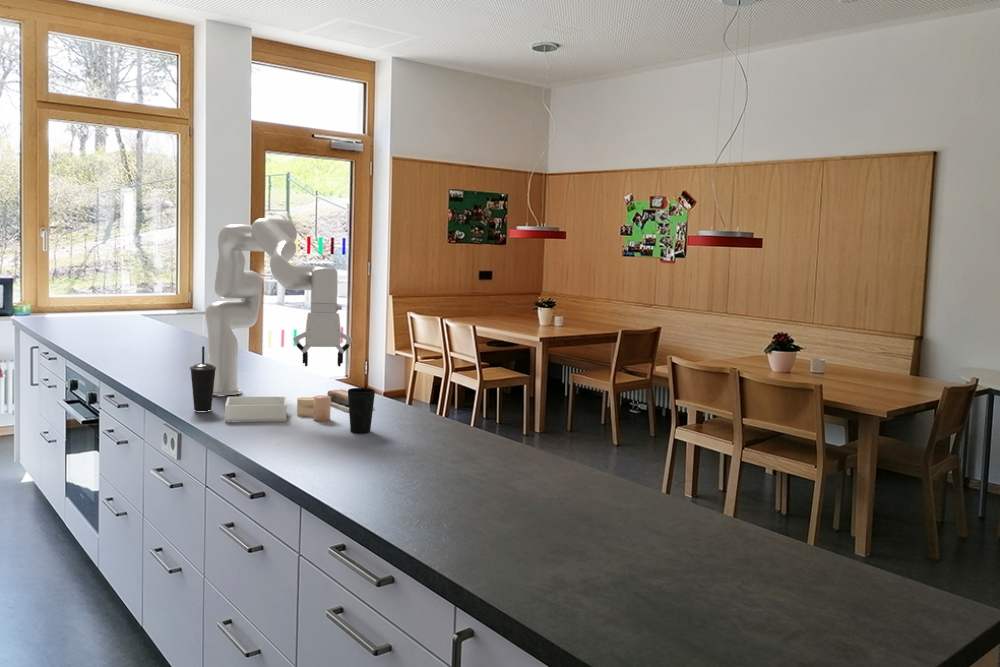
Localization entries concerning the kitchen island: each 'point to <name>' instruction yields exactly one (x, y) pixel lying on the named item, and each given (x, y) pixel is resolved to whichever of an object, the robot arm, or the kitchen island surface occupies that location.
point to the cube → (305, 406)
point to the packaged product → (340, 399)
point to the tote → (256, 409)
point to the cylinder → (322, 408)
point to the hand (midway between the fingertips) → (322, 365)
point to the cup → (360, 409)
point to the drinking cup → (202, 384)
